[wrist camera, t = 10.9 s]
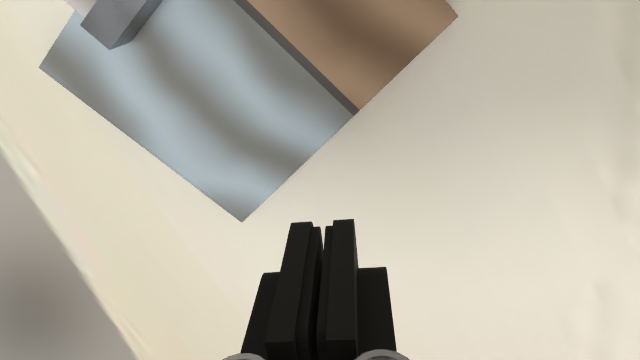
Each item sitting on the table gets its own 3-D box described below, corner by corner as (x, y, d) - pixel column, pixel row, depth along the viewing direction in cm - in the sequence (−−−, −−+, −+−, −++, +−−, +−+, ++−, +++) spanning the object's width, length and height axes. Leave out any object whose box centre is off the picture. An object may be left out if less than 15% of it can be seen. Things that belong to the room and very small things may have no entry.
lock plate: (244, -234, 23) (226, -278, 19) (452, 13, 28) (472, 21, 24) (51, 63, 30) (8, 77, 26) (245, 213, 36) (234, 244, 32)
